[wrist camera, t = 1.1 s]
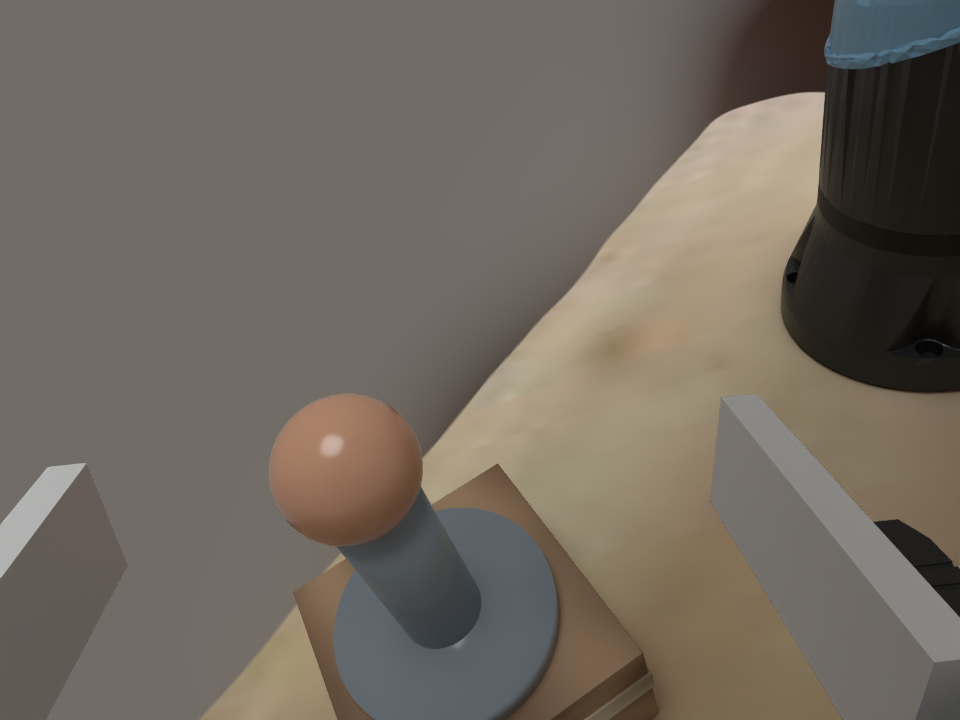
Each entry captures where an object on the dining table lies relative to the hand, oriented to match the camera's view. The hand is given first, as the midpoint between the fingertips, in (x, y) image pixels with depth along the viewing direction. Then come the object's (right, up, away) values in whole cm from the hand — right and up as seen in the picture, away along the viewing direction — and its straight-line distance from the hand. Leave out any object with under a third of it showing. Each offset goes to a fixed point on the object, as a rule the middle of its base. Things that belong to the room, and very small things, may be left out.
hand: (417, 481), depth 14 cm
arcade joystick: (0, -9, +16) cm, 18 cm away
